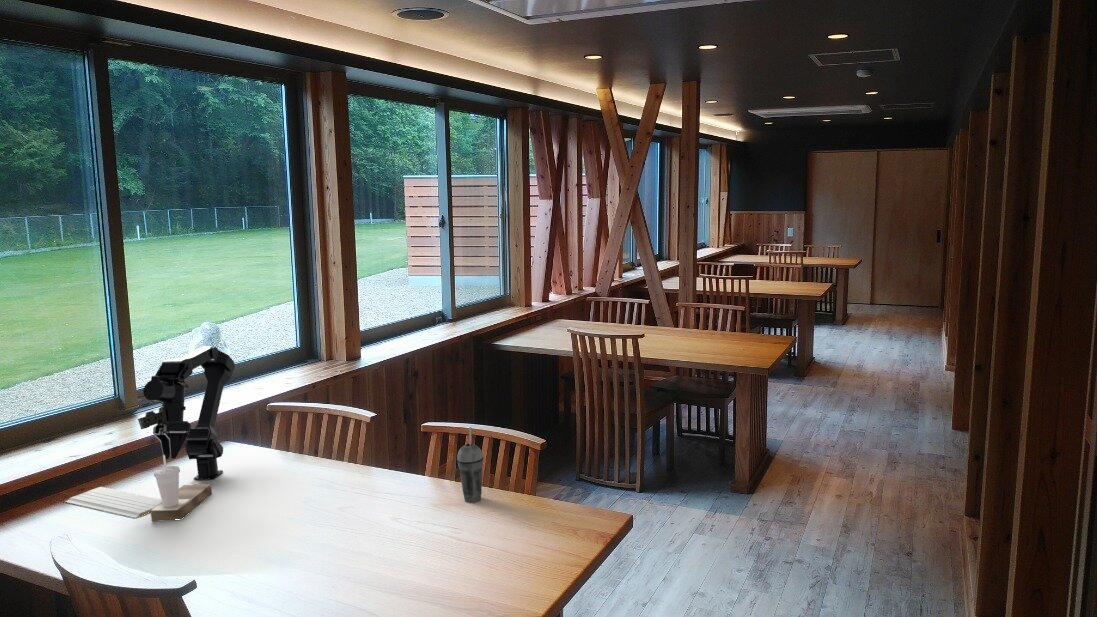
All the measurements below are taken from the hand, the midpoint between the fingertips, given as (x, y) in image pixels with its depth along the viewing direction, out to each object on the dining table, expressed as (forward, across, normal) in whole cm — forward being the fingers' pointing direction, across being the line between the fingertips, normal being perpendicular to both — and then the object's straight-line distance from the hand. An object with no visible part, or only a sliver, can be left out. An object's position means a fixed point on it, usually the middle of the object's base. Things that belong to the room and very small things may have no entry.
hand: (169, 459), depth 218 cm
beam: (+13, +3, +4) cm, 14 cm away
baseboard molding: (+13, -14, -11) cm, 22 cm away
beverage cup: (+13, +56, +65) cm, 87 cm away
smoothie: (+12, +8, -1) cm, 15 cm away
